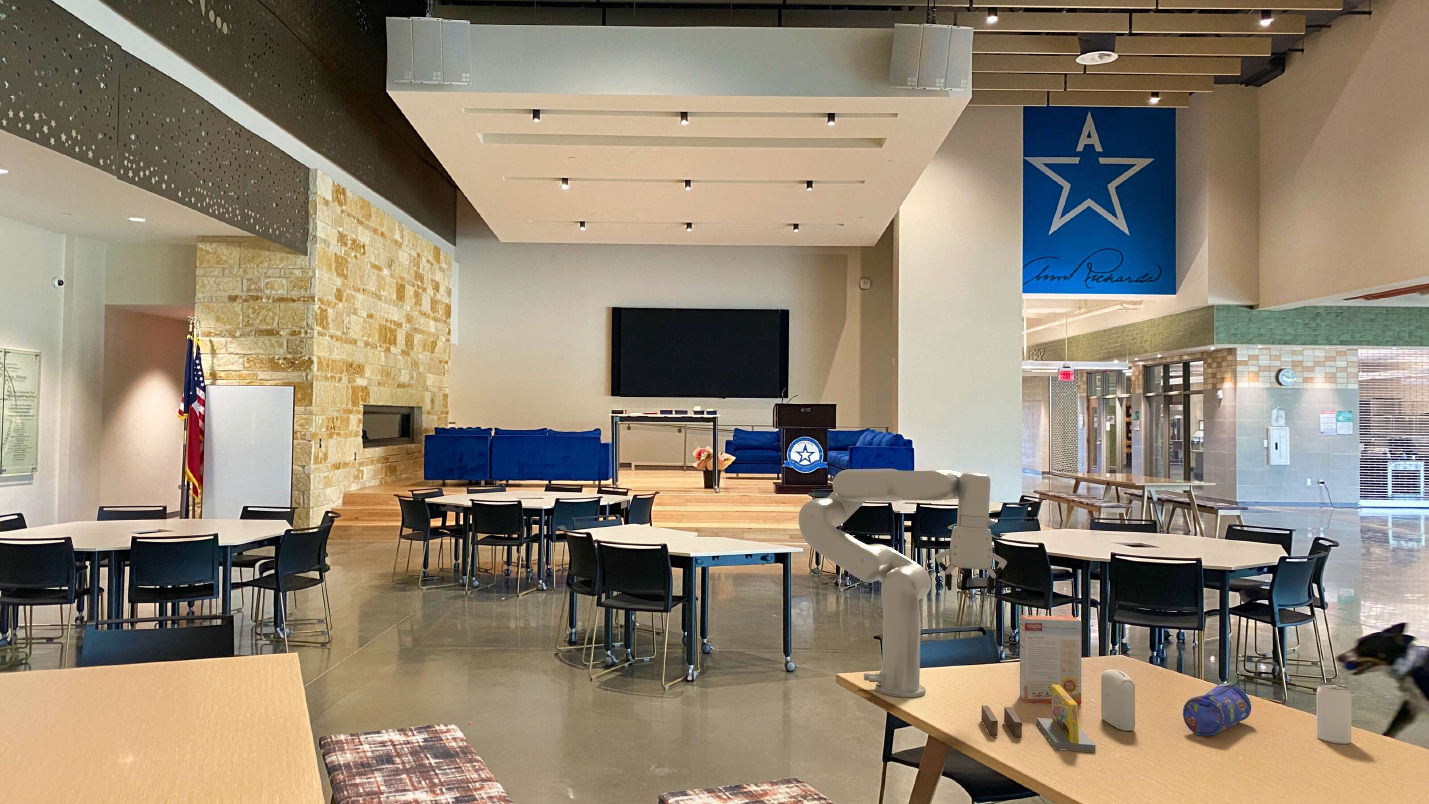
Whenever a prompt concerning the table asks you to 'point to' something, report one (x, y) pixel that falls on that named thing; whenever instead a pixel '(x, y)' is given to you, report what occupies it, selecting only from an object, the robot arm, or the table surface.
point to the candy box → (1065, 713)
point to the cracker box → (1049, 657)
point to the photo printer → (1118, 700)
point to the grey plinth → (1060, 740)
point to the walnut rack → (1009, 719)
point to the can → (1334, 713)
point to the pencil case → (1216, 710)
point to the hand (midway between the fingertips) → (968, 591)
